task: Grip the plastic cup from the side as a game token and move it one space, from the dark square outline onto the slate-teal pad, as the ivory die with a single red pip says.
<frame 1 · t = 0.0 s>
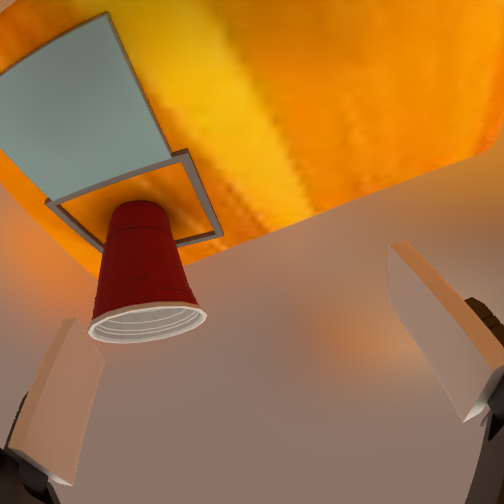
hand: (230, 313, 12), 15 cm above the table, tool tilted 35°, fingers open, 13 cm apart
plastic cup: (141, 215, 30), resting in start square
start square: (141, 216, 30), on the table
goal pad: (68, 121, 18), on the table
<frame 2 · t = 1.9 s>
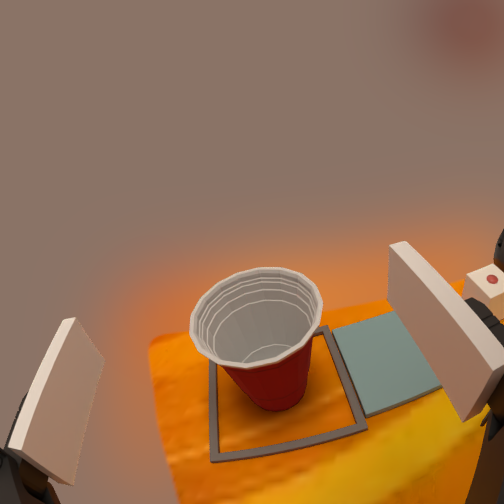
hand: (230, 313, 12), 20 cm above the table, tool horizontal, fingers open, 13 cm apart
plastic cup: (278, 392, 30), resting in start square
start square: (278, 390, 30), on the table
die: (483, 311, 30), on the table
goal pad: (402, 353, 29), on the table
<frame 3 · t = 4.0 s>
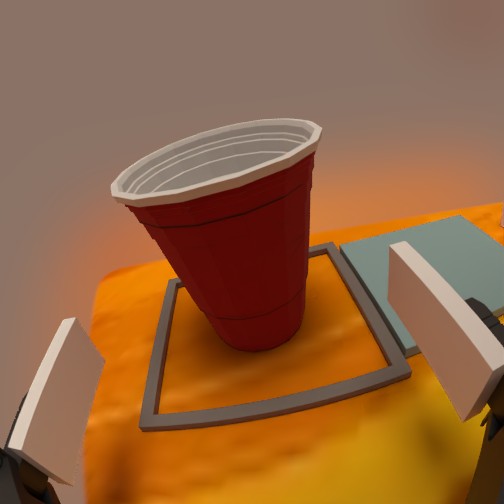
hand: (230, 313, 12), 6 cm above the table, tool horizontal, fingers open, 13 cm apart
plastic cup: (260, 325, 20), resting in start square
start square: (259, 322, 20), on the table
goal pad: (442, 271, 20), on the table
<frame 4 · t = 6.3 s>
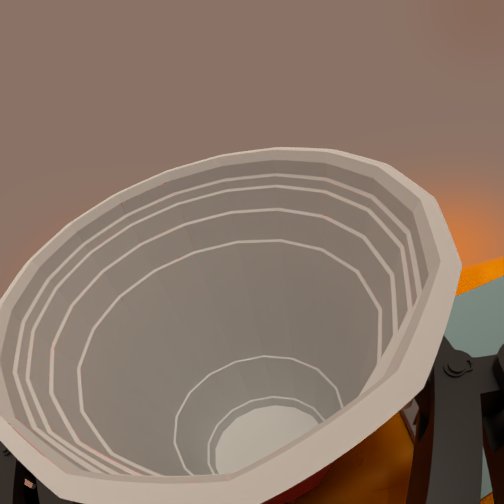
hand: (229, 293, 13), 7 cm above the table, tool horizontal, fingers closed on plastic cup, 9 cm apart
plastic cup: (271, 457, 12), resting in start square, touching gripper
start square: (271, 456, 12), on the table
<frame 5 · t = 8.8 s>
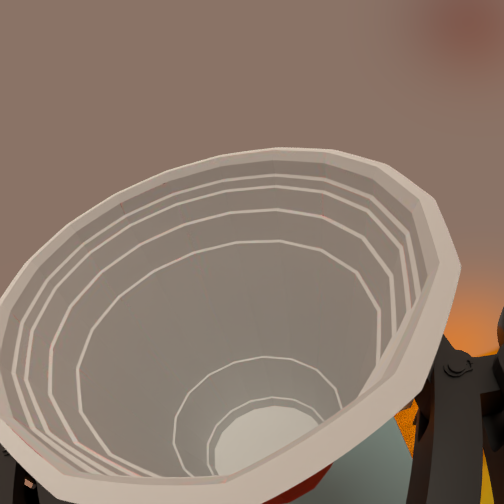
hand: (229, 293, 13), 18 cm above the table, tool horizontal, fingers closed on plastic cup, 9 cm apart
plastic cup: (270, 458, 12), point 11 cm above the table, touching gripper
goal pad: (333, 492, 17), on the table
when the fingers open (9 cm above the table, at t = 11.3 s): plastic cup drops 1 cm, resting on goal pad.
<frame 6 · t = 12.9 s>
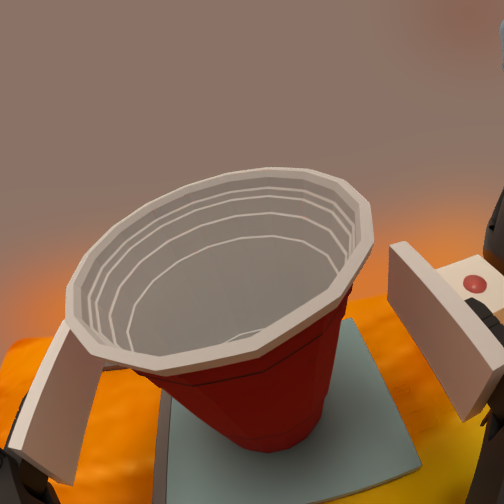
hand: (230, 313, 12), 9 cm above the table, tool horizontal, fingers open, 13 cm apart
plastic cup: (271, 415, 16), point 1 cm above the table, touching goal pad
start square: (82, 435, 16), on the table
die: (458, 342, 17), on the table
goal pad: (278, 418, 16), on the table
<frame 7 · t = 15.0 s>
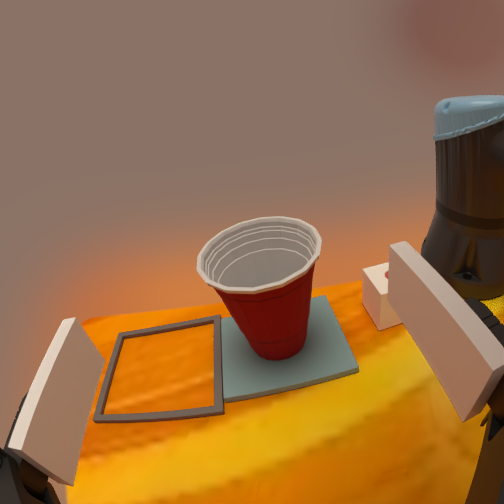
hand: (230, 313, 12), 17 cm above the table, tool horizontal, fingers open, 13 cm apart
plastic cup: (279, 343, 32), point 1 cm above the table, touching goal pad
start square: (160, 368, 32), on the table
die: (389, 310, 33), on the table
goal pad: (282, 346, 32), on the table
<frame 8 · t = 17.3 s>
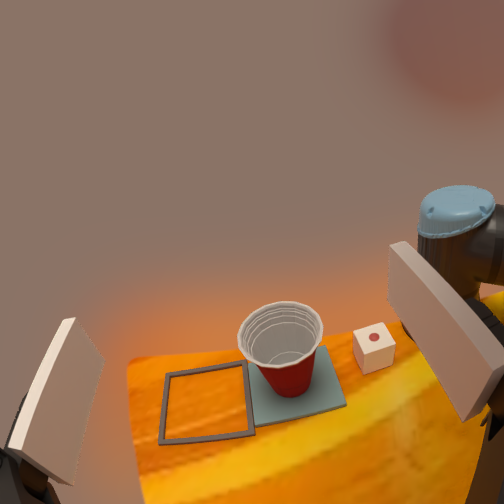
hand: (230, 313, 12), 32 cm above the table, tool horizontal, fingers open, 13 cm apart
plastic cup: (291, 384, 43), point 1 cm above the table, touching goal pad
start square: (205, 402, 44), on the table
die: (372, 358, 44), on the table
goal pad: (294, 386, 44), on the table
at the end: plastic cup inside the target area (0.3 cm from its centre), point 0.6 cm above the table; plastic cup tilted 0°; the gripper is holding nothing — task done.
